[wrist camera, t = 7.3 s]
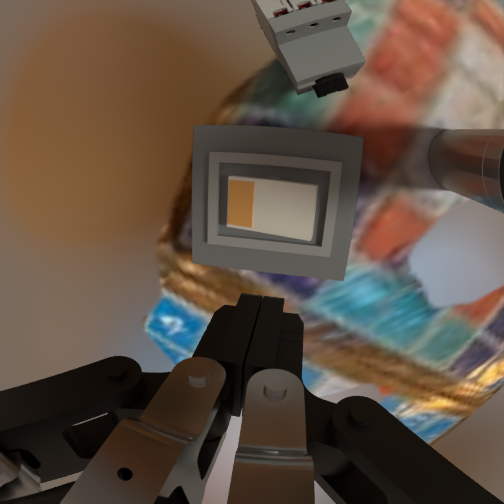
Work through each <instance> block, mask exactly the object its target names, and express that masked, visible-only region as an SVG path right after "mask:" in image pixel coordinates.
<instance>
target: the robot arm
mask: <svg viewBox="0 0 504 504" xmlns="http://www.w3.org/2000/svg"><path fill="white" fill-rule="evenodd" d="M429 164H430V169H431V172H432V174H433V176H434V178H435V180H436V181H437V182H438V183H439V184H440V185H441V186H442V187H443V188H445V189H447V190H450V191H452V192H455V193H457V194H460V195H462V196H465V197H467V198H470V199H472V200H474V201H477V202H479V203H482V204H484V205H486V206H488V207H491V208H493V209H495V210H497V211H500V212H502V213H504V129H456V130H446V131H443V132H441V133H439V134H438V135H437V136H436V137H435V139H434V140H433V142H432V144H431V147H430V151H429ZM262 300H263V301H262ZM283 306H284V298H278V297H270V296H264V297H263V296H261V295H253V294H246V293H241V295H240V298H239V300H238V303H237V305H236V306H231V305H224V306H222V307H221V308H220V309H218V310H217V311H215V313H214V315H213V317H212V319H211V321H210V323H209V324H208V326H207V329H206V330H205V332H204V334H203V336H202V338H201V340H200V342H199V344H198V346H197V348H196V350H195V352H194V354H193V356H192V358H188V359H185V360H182V361H181V362H179V363H178V364H177V365H176V366H175V367H174V368H173V370H172V371H171V372H164V373H149V372H148V373H147V372H142V371H141V367H140V365H139V364H138V363H137V362H136V361H135V360H133V359H131V358H129V357H125V356H113V357H109V358H106V359H103V360H100V361H97V362H94V363H91V364H89V365H86V366H82V367H79V368H76V369H73V370H70V371H67V372H64V373H61V374H58V375H55V376H51V377H48V378H45V379H42V380H38V381H35V382H31V383H28V384H25V385H21V386H18V387H14V388H11V389H7V390H3V391H0V504H201V503H202V500H203V496H204V492H205V486H206V483H207V480H208V478H209V476H210V473H211V471H212V469H213V466H214V464H215V461H216V459H217V457H218V454H219V452H220V449H221V447H222V445H223V442H224V439H225V437H226V430H227V428H228V425H229V422H230V419H231V415H232V416H237V417H240V414H241V410H242V409H243V410H242V424H241V430H240V437H239V443H238V449H237V451H236V454H235V459H234V465H233V471H232V477H231V483H230V489H229V495H228V501H227V504H315V492H314V480H315V481H316V482H317V483H318V484H319V486H321V488H322V489H323V490H324V491H325V492H326V493H327V494H328V495H329V497H330V498H331V499H332V500H333V501H334V502H335V503H336V504H504V503H503V502H502V501H501V500H499V499H498V498H496V497H495V496H494V495H492V494H491V493H490V492H488V491H487V490H485V489H484V488H483V487H482V486H480V485H479V484H478V483H476V482H475V481H474V480H473V479H471V478H470V477H469V476H467V475H466V474H465V473H463V472H462V471H461V470H459V469H458V468H457V467H456V466H454V465H453V464H452V463H451V462H449V461H448V460H447V459H446V458H444V457H443V456H442V455H441V454H439V453H438V452H437V451H436V450H434V449H433V448H432V447H431V446H429V445H428V444H427V443H426V442H424V441H423V440H422V439H421V438H420V437H418V436H417V435H416V434H415V433H413V432H412V431H411V430H410V429H409V428H407V427H406V426H405V425H404V424H403V423H401V422H400V421H399V420H398V419H397V418H395V417H394V416H393V415H392V414H391V413H389V412H388V411H387V410H386V409H385V408H384V407H382V406H381V405H380V404H379V403H377V402H376V401H374V400H372V399H370V398H368V397H363V396H351V397H347V398H344V399H342V400H341V401H339V402H338V403H337V404H335V403H332V402H329V401H326V400H323V399H321V398H318V397H317V396H315V395H313V394H312V393H311V392H309V391H308V390H307V388H306V387H305V386H304V384H303V381H302V358H303V330H304V323H303V322H302V320H301V318H300V317H299V315H298V314H293V313H284V312H283ZM242 406H243V408H242ZM105 413H108V414H107V415H104V416H101V417H99V418H96V419H93V420H90V421H87V422H84V423H82V424H79V425H75V426H72V425H74V424H77V423H80V422H82V421H85V420H88V419H91V418H94V417H97V416H99V415H102V414H105ZM81 471H83V472H82V474H81V475H80V476H79V478H78V479H77V481H73V482H70V483H67V484H64V485H61V486H58V487H54V488H52V489H48V490H45V491H42V488H41V486H40V483H43V482H47V481H51V480H54V479H58V478H62V477H65V476H68V475H72V474H75V473H78V472H81Z"/></svg>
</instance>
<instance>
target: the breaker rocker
mask: <svg viewBox="0 0 504 504" xmlns="http://www.w3.org/2000/svg"><path fill="white" fill-rule="evenodd" d="M317 193H318V185H314V184H307V183H300V182H292V181H284V180H275V179H266V178H257V177H247V176H236V175H232V176H228V201H227V227H232V228H238V229H244V230H250V231H256V232H262V233H267V234H273V235H279V236H284V237H290V238H296V239H301V240H307V241H311V239H312V236H313V228H314V220H315V211H316V202H317Z"/></svg>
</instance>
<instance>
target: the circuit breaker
mask: <svg viewBox="0 0 504 504" xmlns="http://www.w3.org/2000/svg"><path fill="white" fill-rule="evenodd" d="M251 1H252V4H253V6H254V9H255V11H256V14H257V15H256V16H257V19H258V21H259V24H260V25H261V29H262V30H263V31H264V34H265V36H266V38H267V39H268V41H269V43H270V45H271V47H272V49H273V51H274V52H275V54H276V56H277V58H278V60H279V62H280V64H281V66H282V68H283V70H284V72H287V74H288V76H289V78H290V80H291V82H292V84H293V86H294V88H295V91H296V93H297V95H300V94H303V93H305V92H308V91H311V90H315V92H316V95H317V97H318V98H320V97H323V96H326V95H327V94H330V93H333V92H336V91H342V90H345V89H348V87H349V86H348V84H347V82H346V79H349V78H353V77H354V76H355V75H356V73H357V72H358V71H359V70H360V68H361V67H362V66H363V65H364V63H365V62H366V61H365V59H364V57H363V55H362V53H361V51H360V49H359V47H358V45H357V43H356V42H355V40H354V38H353V36H352V34H351V33H350V31H349V29H348V27H347V23H348V20H349V18H350V15H351V12H352V11H351V9H350V7H349V6H348V4H347V3H346V1H345V0H251Z"/></svg>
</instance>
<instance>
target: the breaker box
mask: <svg viewBox="0 0 504 504" xmlns="http://www.w3.org/2000/svg"><path fill="white" fill-rule="evenodd" d="M363 141H364V137H358V136H352V135H345V134H338V133H331V132H323V131H314V130H305V129H294V128H282V127H267V126H246V125H194V131H193V159H192V262H193V263H196V264H204V265H211V266H219V267H227V268H235V269H244V270H252V271H260V272H269V273H277V274H286V275H295V276H304V277H313V278H322V279H331V280H341V281H343V280H344V275H345V270H346V265H347V260H348V254H349V249H350V243H351V237H352V231H353V225H354V218H355V211H356V204H357V197H358V189H359V181H360V172H361V163H362V152H363ZM232 175H236V176H247V177H257V178H266V179H275V180H284V181H292V182H300V183H307V184H314V185H318V193H317V202H316V211H315V220H314V228H313V236H312V239H311V241H307V240H301V239H296V238H290V237H284V236H279V235H273V234H267V233H262V232H256V231H250V230H244V229H238V228H232V227H227V201H228V176H232Z"/></svg>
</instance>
